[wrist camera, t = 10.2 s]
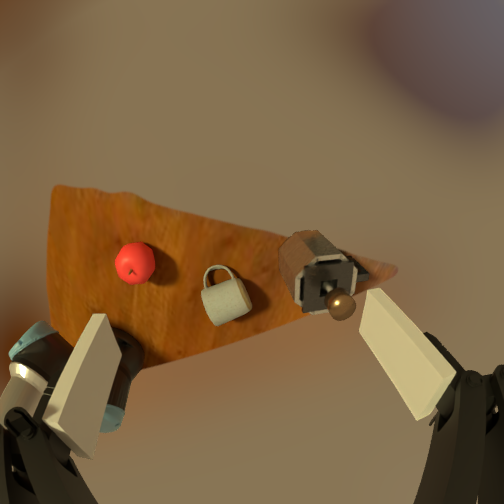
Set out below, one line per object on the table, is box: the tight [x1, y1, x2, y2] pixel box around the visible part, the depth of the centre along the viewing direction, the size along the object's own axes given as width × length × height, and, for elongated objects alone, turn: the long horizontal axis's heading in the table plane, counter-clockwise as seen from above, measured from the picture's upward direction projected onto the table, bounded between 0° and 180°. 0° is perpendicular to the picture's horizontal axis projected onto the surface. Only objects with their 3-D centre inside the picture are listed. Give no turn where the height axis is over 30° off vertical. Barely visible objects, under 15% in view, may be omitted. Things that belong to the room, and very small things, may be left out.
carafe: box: [279, 230, 369, 315], centre depth 49 cm, size 14×11×13 cm
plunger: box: [301, 260, 356, 321], centre depth 46 cm, size 8×8×18 cm
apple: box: [115, 242, 155, 285], centre depth 47 cm, size 8×8×8 cm
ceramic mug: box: [201, 265, 252, 326], centre depth 52 cm, size 11×8×8 cm
